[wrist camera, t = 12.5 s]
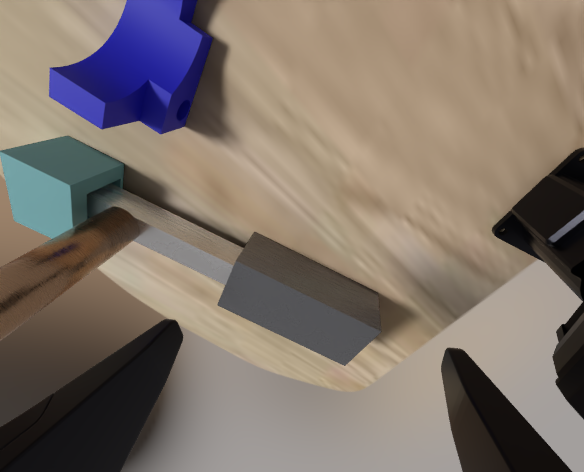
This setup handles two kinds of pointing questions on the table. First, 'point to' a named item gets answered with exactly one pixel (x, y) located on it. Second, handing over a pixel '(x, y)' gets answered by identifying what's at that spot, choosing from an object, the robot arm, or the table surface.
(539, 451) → the robot arm
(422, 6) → the table surface
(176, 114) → the cable clip
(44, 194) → the teal block with slot
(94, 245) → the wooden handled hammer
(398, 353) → the table surface
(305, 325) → the gray rectangular tube
